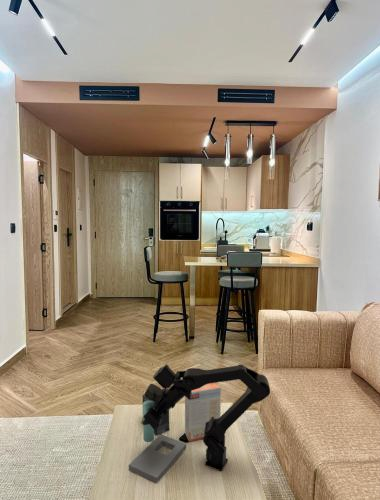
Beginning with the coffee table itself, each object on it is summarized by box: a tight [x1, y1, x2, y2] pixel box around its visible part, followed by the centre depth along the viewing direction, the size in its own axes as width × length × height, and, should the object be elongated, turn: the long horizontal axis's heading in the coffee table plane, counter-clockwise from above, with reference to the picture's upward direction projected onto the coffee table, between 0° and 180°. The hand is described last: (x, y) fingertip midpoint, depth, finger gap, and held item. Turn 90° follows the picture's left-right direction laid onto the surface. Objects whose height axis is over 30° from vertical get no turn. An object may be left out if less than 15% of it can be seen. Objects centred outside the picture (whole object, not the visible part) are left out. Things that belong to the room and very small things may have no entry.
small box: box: [142, 394, 170, 436], centre depth 144 cm, size 13×7×12 cm, turn 33°
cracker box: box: [184, 382, 222, 442], centre depth 137 cm, size 14×6×21 cm, turn 108°
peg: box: [142, 401, 155, 443], centre depth 125 cm, size 4×4×14 cm
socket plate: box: [128, 433, 187, 484], centre depth 123 cm, size 12×20×2 cm, turn 151°
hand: (145, 420), depth 126 cm, fingers closed on peg, 4 cm apart
